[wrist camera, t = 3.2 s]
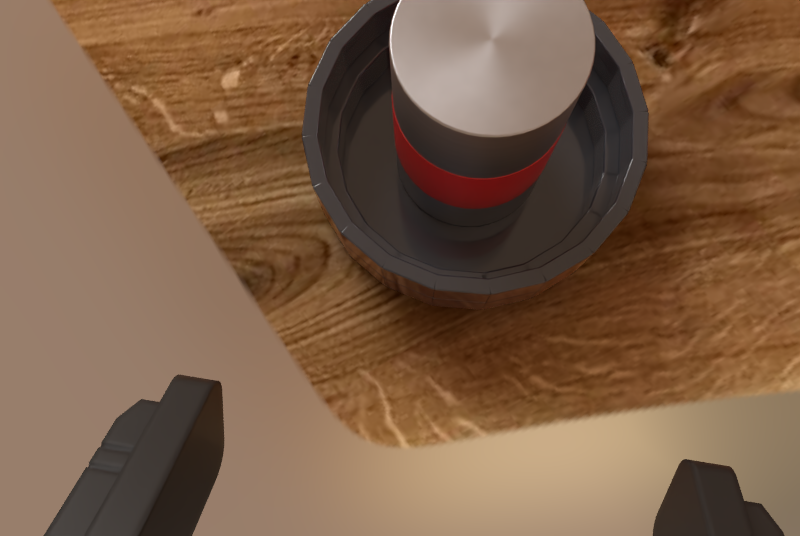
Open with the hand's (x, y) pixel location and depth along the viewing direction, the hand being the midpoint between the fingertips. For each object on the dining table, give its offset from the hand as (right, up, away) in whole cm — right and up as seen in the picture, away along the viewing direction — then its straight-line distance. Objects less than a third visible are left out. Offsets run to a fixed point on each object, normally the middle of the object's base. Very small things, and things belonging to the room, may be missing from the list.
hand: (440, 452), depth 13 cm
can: (+2, +8, +19) cm, 20 cm away
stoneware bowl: (+2, +8, +19) cm, 21 cm away
